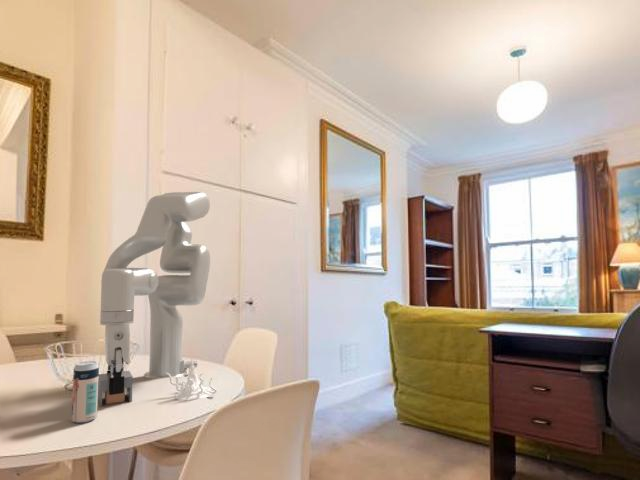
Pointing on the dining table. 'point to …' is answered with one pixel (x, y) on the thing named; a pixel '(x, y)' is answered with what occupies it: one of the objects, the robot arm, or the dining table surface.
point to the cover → (104, 385)
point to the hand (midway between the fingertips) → (114, 389)
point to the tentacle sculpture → (192, 386)
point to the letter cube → (114, 397)
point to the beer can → (85, 392)
